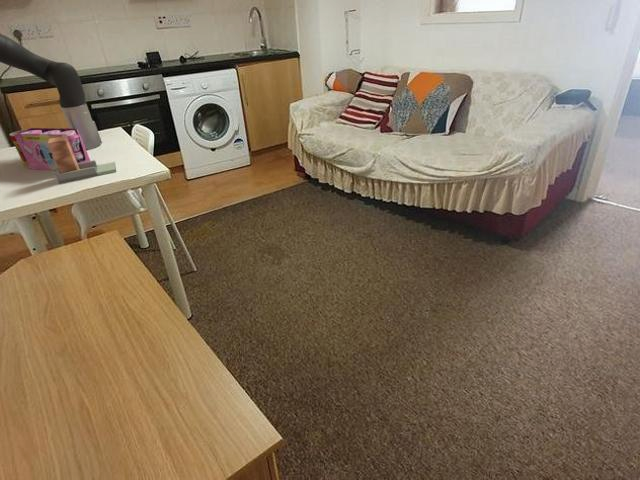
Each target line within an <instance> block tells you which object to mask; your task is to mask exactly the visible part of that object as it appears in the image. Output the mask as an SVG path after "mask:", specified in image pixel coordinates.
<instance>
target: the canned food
mask: <svg viewBox="0 0 640 480" xmlns="http://www.w3.org/2000/svg"><path fill="white" fill-rule="evenodd" d="M23 130H24V129H21V130H17V131H14V132H11V133H9V137H10V139H11V140H12V141H11V142H13V145H14V147H15V150H16V151H17V153H18V155H19V157H20V160H21V161H22V163H23V166H25V167H29V165H28V163H27V160H26V158H25V156H24V154H23V152H22V150H21V148H20V146H19V144H18V142H17V140H16V138H15V135H14V133H17V132H20V131H23Z"/></svg>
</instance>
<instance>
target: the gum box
mask: <svg viewBox="0 0 640 480" xmlns="http://www.w3.org/2000/svg"><path fill="white" fill-rule="evenodd" d="M22 130H23V131H21V130H19V131H20V132H17V133H14V135H15V138H16V140H17V142H18V144H19V146H20V148H21V150H22V152H23V154H24V156H25V158H26V160H27V163H28V165H29V166H28V167H29V168H30V170H31V169H32V170H46V171H58V169H57V167H58V165H57V163H56V161H55V159H54V156H53V154H52V152H51V149H50V147H49V145H48V141H49V139H51V138H57V137H63V136H66V137H67V139H68V142H69V144H70V146H71V149H72V151H73V154H74V156H75V159H76V161H77V163H83V162H88V161H91V159H90V156H89V154H88V152H87V149H85V146H84V144H83V141H82V139H81V136H80V134H79V132H78V129H74V128H69V127H67V128H66V127H64V128H59V127H58V128H57V127H56V128H55V127H53V128H51V127H30V128H26V129H22Z"/></svg>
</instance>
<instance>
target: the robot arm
mask: <svg viewBox="0 0 640 480" xmlns="http://www.w3.org/2000/svg"><path fill="white" fill-rule="evenodd" d="M0 63H1V64H4V65H7V66H9V67H12V68H15V69H18V70H21V71H24V72H28V73H29V74H31V75H34V76H36V77H37V78H40V79H42V80H44V81H46V82H47V83H49V84H50V85H52V86H55V88H56V89H57V92H58V94H59V99H58V104H59V106H60V109H61V111H62V112H63V115H64V119H65V120H66V123H67V126H68V128H74V129H78V132H79V134H80V136H81V139H82V141H83V144H84V146H85V149H86V150H91V149H95V148H98V147H100V146H101V145H102V144H103V142H102V138H101V136H100V133H99V130H98V128H97V125H96V122H95V121H94V120H93V118H92V115H91V113H90V110H89V107H88V104H87V101H86V94H85V91H84V88H83V84H82V82H81V78H80V76H79V75H80V74H79V72H78V71H77V70H76V68H75V67H73V65H71V64H70V63H66V62H61V61H60V62H58V61H54V60H51V59H48V58H45V57H42V56H40V55H39V54H36V53H34V52H32V51H31V50H29V49H28V48H26V47H24V46H23V45H21V44H20V43H18V42H17V41H16V40H14V39H12V38H11V37H8V36H6V35H4V34H2V33H0Z"/></svg>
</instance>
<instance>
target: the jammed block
mask: <svg viewBox="0 0 640 480" xmlns="http://www.w3.org/2000/svg"><path fill="white" fill-rule="evenodd" d="M48 145H49V147H50V149H51V152H52V154H53V156H54V159H55V161H56V163H57V165H58V168H59V170H60V172H61V173H65V172H70V171H75V170H80V169H79V166H78V164H77V161H76V159H75V156H74V154H73V151H72V149H71V146H70V144H69V142H68V139H67V137H66V136H63V137H57V138H51V139H49V141H48Z"/></svg>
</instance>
